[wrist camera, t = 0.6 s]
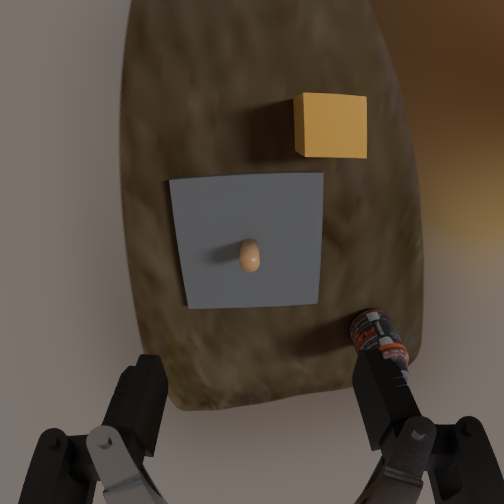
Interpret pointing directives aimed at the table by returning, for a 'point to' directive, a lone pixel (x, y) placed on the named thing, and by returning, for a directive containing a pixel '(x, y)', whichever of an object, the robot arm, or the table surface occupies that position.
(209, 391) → the table surface
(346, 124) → the mustard foam cube
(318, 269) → the thin gray plate
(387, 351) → the supplement bottle
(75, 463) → the robot arm
